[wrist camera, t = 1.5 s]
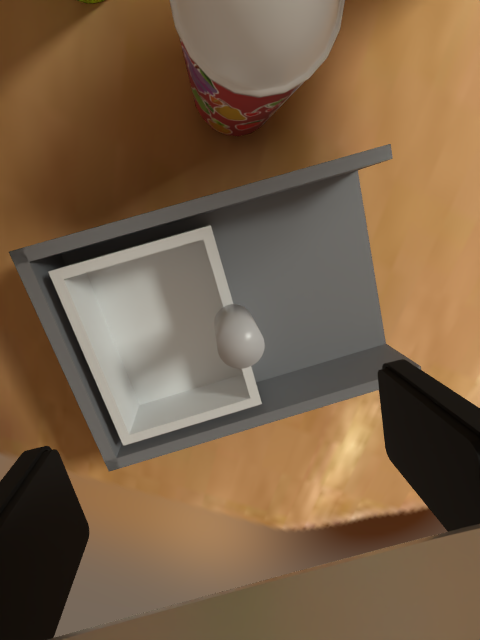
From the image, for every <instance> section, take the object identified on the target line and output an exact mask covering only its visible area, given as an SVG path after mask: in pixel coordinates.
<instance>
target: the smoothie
mask: <svg viewBox="0 0 480 640" xmlns="http://www.w3.org/2000/svg"><path fill="white" fill-rule="evenodd" d="M344 4H345V0H170V5H171V10H172V14H173V19H174V24H175V28H176V30H177V32H178V34H179V37H180V42H181V46H182V50H183V54H184V58H185V63H186V67H187V71H188V75H189V79H190V84H191V88H192V92H193V96H194V101H195V105H196V107H197V109H198V111H199V113H200V115H201V116H202V118H203V119H204V120H205V121H206V122H207V123H208V124H209V125H210V126H211V127H212V128H213V129H215V130H217V131H219V132H221V133H223V134H225V135H232V136H241V135H246V134H250V133H252V132H253V131H255V130H257V129H258V128H260V127H261V126H262V125H263V124H264V123H265V122H266V121H267V120H268V119H269V118H270V117H271V116H272V115H273V114H274V113H275V112H276V111H277V110H278V109H279V108H280V107H281V105H282V104H283V103H284V102H285V101H286V100H287V99H288V98H289V97H290V96H291V95H292V94H293V93H294V92H295V91H296V90H297V89H298V88H299V87H300V86H301V85H302V84H303V83H304V81H306V80H308V79H309V78H310V77H311V76H312V75H313V73H314V72H315V71H316V70H317V69H318V68H319V67H320V65H321V64H322V63H323V62H324V61H325V60H326V59H327V57H328V55H329V53H330V51H331V49H332V47H333V44H334V42H335V40H336V38H337V35H338V33H339V31H340V27H341V21H342V16H343V10H344Z"/></svg>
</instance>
